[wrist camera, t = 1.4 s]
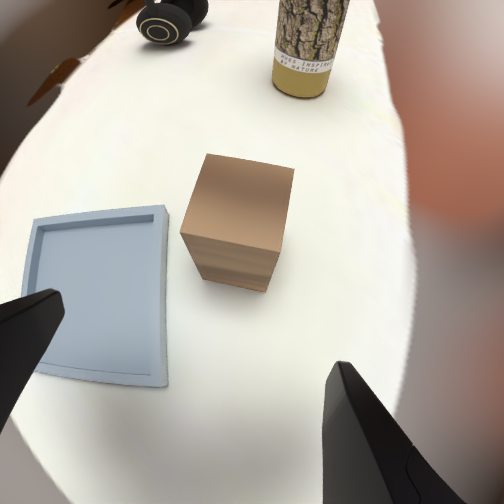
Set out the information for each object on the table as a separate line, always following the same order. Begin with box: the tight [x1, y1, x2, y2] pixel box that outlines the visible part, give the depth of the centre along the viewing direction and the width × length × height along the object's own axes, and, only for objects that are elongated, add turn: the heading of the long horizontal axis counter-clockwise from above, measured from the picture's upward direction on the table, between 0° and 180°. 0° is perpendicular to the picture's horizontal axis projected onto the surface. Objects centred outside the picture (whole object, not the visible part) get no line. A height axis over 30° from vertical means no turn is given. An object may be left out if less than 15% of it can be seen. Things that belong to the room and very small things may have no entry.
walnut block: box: [180, 154, 294, 292], centre depth 19 cm, size 5×5×9 cm
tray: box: [21, 205, 169, 387], centre depth 21 cm, size 14×14×2 cm
